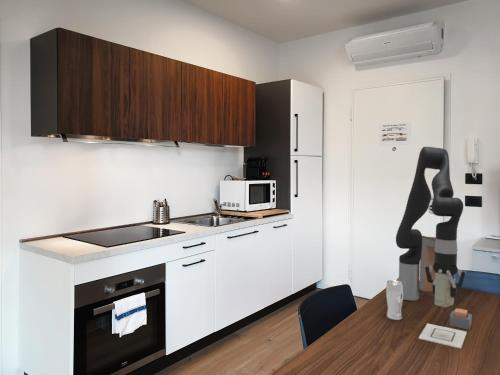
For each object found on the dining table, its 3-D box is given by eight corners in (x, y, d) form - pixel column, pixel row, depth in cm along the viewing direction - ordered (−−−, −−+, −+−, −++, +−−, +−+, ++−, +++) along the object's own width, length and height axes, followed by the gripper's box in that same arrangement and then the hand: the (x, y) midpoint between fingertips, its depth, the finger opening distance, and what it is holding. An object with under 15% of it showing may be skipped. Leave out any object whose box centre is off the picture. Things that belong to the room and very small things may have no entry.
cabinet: (419, 290, 204) (420, 235, 202) (434, 288, 207) (436, 234, 205) (451, 303, 184) (453, 243, 182) (467, 301, 187) (469, 242, 185)
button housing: (449, 325, 159) (449, 315, 159) (452, 320, 165) (452, 310, 165) (469, 329, 155) (469, 319, 155) (471, 324, 161) (471, 314, 161)
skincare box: (445, 308, 146) (446, 275, 145) (433, 304, 149) (434, 272, 149) (454, 304, 150) (455, 272, 149) (442, 301, 153) (443, 269, 152)
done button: (454, 317, 159) (454, 311, 159) (455, 314, 163) (455, 308, 163) (465, 319, 157) (466, 313, 157) (467, 316, 160) (467, 310, 160)
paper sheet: (418, 338, 147) (418, 337, 147) (427, 324, 161) (427, 323, 161) (461, 348, 140) (461, 347, 139) (466, 332, 153) (466, 331, 153)
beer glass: (384, 318, 167) (385, 283, 166) (386, 313, 173) (387, 279, 172) (401, 321, 163) (402, 285, 162) (404, 315, 169) (404, 281, 169)
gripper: (422, 250, 149) (421, 294, 150) (466, 255, 141) (464, 302, 142) (427, 246, 155) (425, 289, 156) (468, 251, 147) (467, 296, 148)
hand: (444, 295), depth 149 cm, fingers closed on skincare box, 5 cm apart
